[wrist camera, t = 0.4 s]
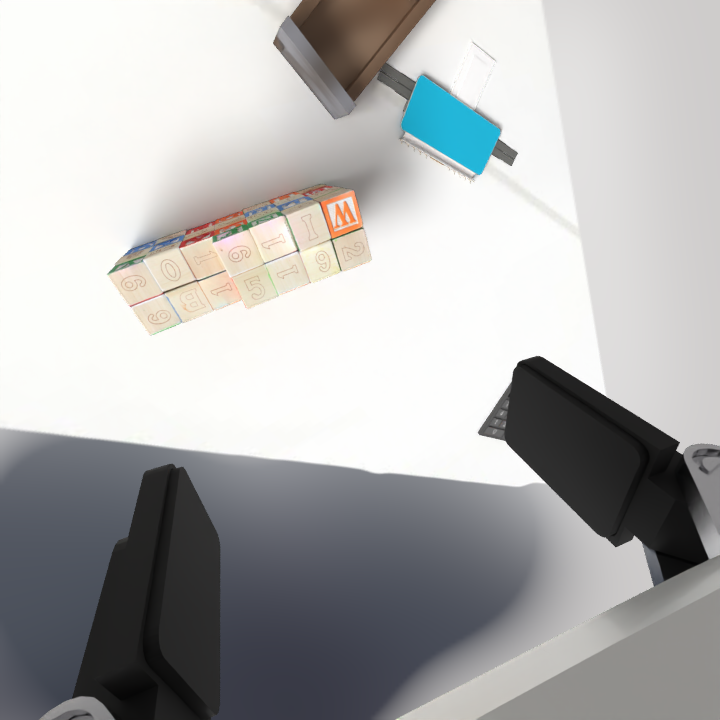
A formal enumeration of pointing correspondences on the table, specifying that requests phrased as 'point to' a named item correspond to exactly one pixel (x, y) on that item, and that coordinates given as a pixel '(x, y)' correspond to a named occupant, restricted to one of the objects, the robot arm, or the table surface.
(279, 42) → the chute
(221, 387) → the table surface
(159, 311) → the stack of blocks
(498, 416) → the calculator
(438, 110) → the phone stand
